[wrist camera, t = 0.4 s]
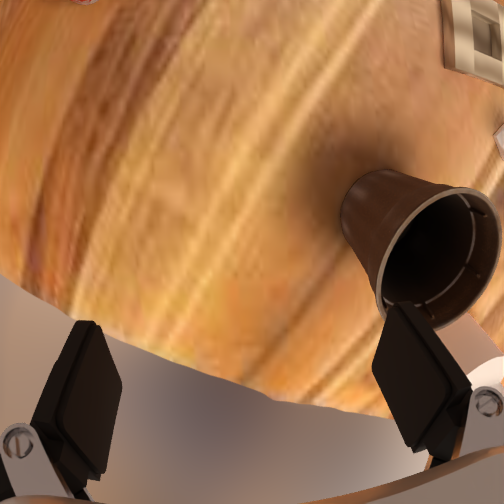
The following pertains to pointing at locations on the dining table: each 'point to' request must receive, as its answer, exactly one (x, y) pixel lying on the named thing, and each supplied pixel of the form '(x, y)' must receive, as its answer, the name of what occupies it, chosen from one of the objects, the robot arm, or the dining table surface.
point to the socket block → (474, 39)
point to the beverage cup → (84, 1)
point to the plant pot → (422, 243)
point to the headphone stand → (500, 140)
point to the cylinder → (474, 352)
